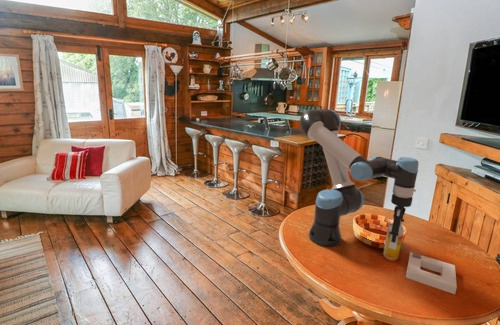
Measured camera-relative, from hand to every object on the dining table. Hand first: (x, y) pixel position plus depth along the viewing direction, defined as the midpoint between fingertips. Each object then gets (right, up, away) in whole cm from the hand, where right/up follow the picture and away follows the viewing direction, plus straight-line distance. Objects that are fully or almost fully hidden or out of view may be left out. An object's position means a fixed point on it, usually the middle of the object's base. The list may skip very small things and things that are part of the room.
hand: (394, 241), depth 123 cm
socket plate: (+10, -11, -9) cm, 17 cm away
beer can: (-1, -8, +2) cm, 8 cm away
